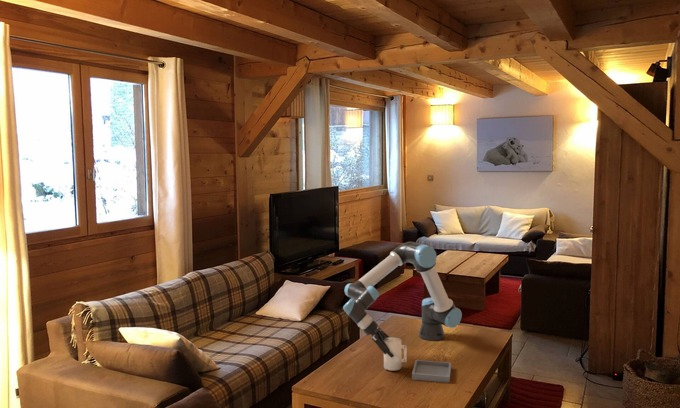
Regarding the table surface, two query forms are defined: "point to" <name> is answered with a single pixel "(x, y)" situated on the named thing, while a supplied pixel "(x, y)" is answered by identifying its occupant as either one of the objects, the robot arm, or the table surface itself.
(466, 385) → the table surface
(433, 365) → the slate tray
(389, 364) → the white pitcher
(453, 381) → the table surface
